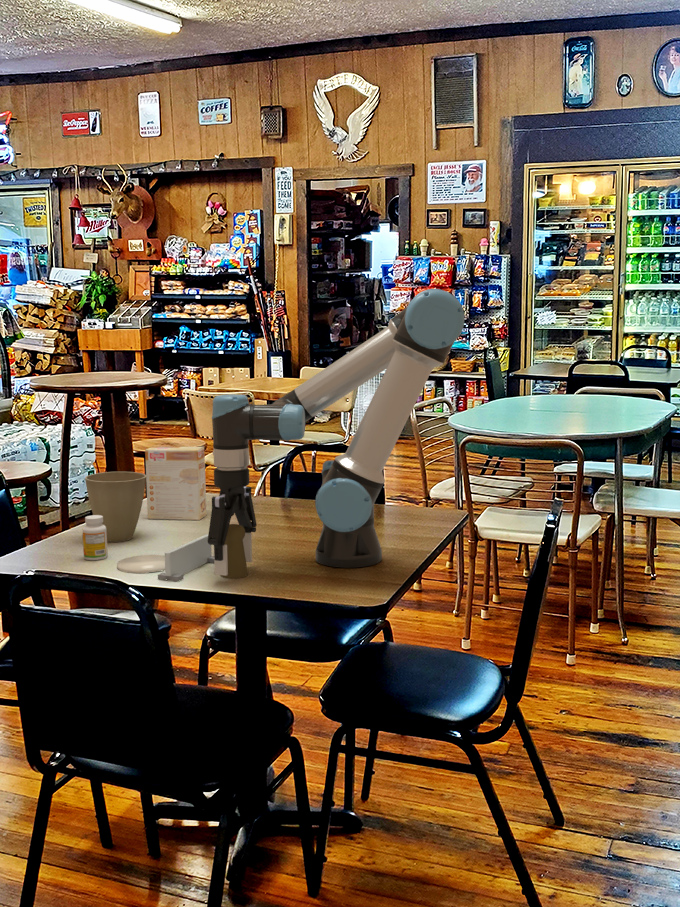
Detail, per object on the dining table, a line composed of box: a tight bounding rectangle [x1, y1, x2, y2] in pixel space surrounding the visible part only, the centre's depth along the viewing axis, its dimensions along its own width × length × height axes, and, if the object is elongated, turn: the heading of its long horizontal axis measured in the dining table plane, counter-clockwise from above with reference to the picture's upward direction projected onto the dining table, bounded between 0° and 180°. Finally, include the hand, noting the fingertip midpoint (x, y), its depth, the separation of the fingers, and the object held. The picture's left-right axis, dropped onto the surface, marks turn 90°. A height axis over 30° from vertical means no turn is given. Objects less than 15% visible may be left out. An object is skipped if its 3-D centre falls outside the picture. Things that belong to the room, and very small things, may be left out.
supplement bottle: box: [82, 514, 109, 561], centre depth 223 cm, size 5×5×10 cm
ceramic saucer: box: [116, 554, 165, 574], centre depth 216 cm, size 13×13×1 cm
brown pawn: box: [219, 523, 249, 579], centre depth 208 cm, size 6×6×11 cm
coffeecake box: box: [144, 446, 207, 521], centre depth 265 cm, size 15×7×20 cm, turn 82°
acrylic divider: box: [157, 533, 214, 582], centre depth 212 cm, size 5×18×6 cm, turn 159°
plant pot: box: [84, 471, 147, 543], centre depth 241 cm, size 15×15×16 cm
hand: (233, 567), depth 208 cm, fingers open, 11 cm apart
